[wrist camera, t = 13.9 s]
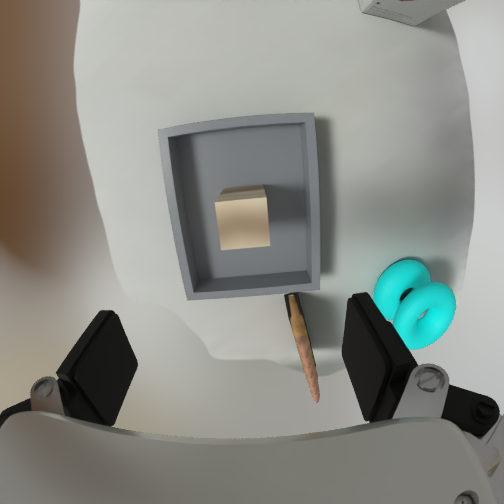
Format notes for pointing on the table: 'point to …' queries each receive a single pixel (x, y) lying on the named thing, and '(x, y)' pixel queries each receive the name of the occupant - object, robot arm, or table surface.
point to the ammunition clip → (302, 342)
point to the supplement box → (406, 9)
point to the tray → (236, 175)
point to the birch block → (242, 217)
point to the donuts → (414, 303)
